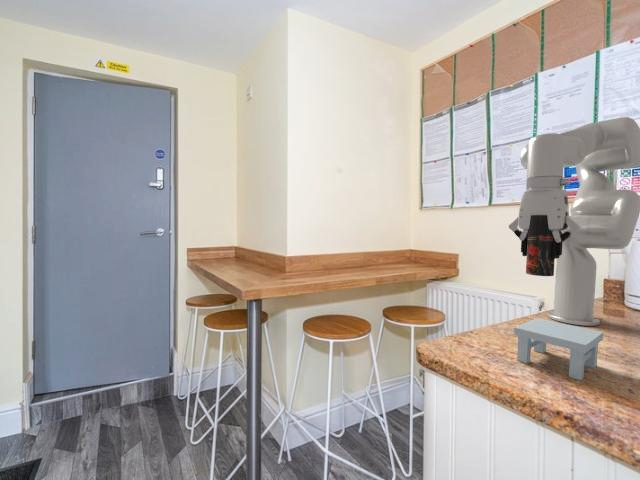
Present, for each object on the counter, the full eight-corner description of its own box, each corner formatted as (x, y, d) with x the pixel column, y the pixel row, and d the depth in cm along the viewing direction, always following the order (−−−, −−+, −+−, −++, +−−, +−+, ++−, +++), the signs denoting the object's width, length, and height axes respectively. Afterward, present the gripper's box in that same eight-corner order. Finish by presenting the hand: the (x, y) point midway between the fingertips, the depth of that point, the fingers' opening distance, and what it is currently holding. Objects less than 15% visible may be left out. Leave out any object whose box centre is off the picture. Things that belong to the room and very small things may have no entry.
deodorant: (558, 276, 80) (561, 215, 79) (531, 275, 82) (534, 215, 81) (547, 272, 86) (549, 215, 85) (522, 271, 87) (524, 215, 86)
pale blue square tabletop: (534, 347, 77) (536, 318, 76) (601, 365, 67) (603, 332, 67) (512, 360, 69) (514, 327, 69) (583, 382, 60) (586, 345, 60)
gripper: (591, 183, 78) (587, 259, 79) (513, 188, 92) (510, 253, 93) (582, 181, 73) (577, 261, 75) (501, 187, 87) (498, 254, 88)
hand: (540, 256), depth 84 cm, fingers closed on deodorant, 5 cm apart
